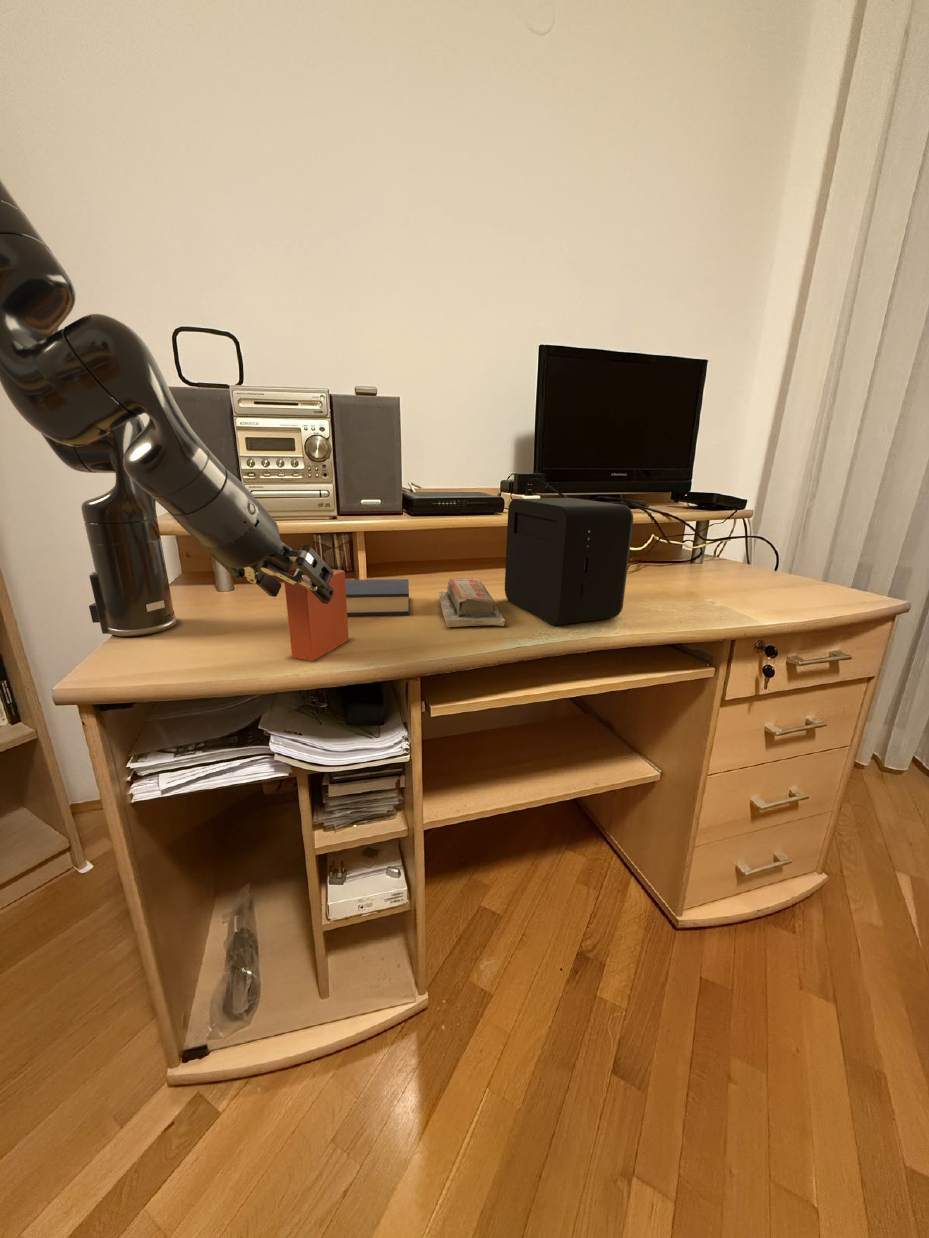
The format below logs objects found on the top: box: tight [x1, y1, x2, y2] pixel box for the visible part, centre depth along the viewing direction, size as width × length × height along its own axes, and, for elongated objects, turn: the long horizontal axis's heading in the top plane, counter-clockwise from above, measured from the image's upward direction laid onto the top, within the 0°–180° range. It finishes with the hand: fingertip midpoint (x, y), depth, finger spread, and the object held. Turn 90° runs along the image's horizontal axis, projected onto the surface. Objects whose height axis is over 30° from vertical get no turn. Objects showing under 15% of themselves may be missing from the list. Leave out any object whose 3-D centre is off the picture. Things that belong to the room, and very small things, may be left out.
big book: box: [345, 578, 410, 617], centre depth 92 cm, size 14×11×4 cm
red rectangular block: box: [284, 568, 350, 662], centre depth 70 cm, size 9×4×11 cm, turn 160°
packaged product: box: [438, 577, 506, 628], centre depth 90 cm, size 18×5×10 cm
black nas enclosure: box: [504, 497, 634, 626], centre depth 90 cm, size 20×15×20 cm
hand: (302, 594), depth 66 cm, fingers open, 8 cm apart
